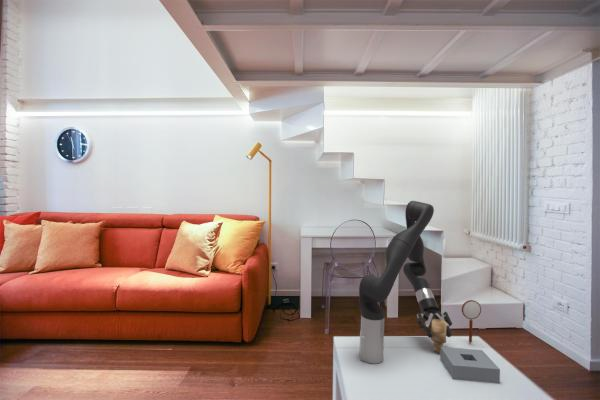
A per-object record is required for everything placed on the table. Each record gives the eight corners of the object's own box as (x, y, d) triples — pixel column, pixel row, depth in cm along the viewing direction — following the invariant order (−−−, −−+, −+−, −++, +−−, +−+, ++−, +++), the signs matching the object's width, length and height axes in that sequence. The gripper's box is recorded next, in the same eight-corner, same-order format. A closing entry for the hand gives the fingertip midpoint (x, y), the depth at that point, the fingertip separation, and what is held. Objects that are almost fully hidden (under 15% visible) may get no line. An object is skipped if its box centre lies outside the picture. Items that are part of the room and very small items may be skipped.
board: (452, 378, 114) (453, 365, 114) (440, 358, 128) (440, 346, 128) (499, 383, 112) (500, 369, 112) (481, 362, 126) (482, 350, 126)
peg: (432, 354, 131) (434, 323, 131) (428, 347, 137) (429, 318, 137) (447, 355, 130) (448, 325, 130) (442, 349, 136) (444, 319, 136)
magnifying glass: (461, 344, 140) (463, 300, 140) (459, 342, 142) (461, 299, 142) (480, 345, 141) (482, 300, 140) (478, 343, 142) (480, 299, 142)
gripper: (415, 297, 140) (428, 334, 128) (444, 296, 142) (460, 332, 130) (409, 304, 145) (421, 341, 134) (437, 304, 147) (451, 339, 136)
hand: (440, 336), depth 132 cm, fingers open, 8 cm apart
